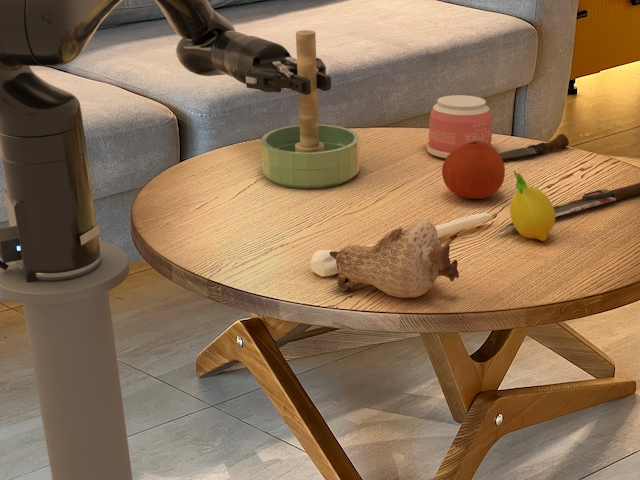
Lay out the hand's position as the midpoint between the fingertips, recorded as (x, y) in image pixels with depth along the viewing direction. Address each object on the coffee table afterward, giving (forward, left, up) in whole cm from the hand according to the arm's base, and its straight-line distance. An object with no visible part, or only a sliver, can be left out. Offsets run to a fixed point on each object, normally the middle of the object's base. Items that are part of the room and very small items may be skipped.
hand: (318, 85), depth 158 cm
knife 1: (+32, -4, -13) cm, 35 cm away
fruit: (+15, -18, -14) cm, 28 cm away
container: (+24, 0, -5) cm, 25 cm away
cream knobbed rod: (-2, -30, -14) cm, 33 cm away
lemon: (+14, -37, -14) cm, 42 cm away
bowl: (-1, +2, -14) cm, 14 cm away
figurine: (-5, -46, -9) cm, 47 cm away
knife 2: (+9, -32, -13) cm, 36 cm away
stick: (0, +3, -11) cm, 11 cm away
